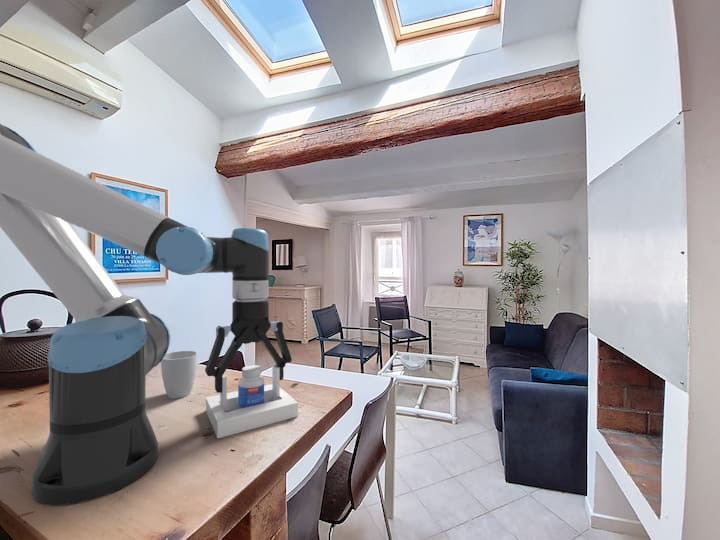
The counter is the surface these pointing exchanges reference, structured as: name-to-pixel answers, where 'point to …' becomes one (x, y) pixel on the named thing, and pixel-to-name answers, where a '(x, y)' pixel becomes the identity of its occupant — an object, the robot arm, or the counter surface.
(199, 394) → the counter surface
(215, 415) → the dock
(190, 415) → the counter surface
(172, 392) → the cup
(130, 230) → the robot arm
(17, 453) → the counter surface
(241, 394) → the pill bottle
